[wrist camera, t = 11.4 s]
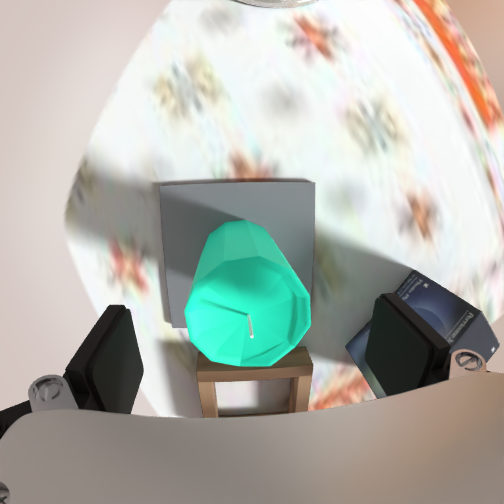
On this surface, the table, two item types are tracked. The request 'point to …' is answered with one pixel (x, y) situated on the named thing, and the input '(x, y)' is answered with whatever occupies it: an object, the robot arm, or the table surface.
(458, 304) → the small box
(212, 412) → the holder
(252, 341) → the candle
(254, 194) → the slate mat
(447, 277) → the table surface
